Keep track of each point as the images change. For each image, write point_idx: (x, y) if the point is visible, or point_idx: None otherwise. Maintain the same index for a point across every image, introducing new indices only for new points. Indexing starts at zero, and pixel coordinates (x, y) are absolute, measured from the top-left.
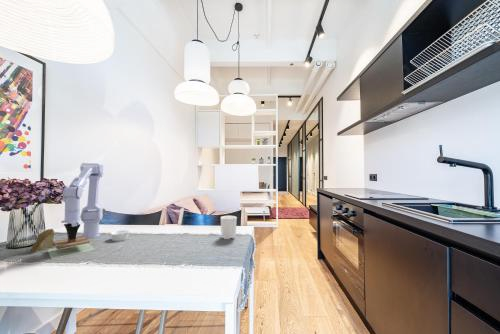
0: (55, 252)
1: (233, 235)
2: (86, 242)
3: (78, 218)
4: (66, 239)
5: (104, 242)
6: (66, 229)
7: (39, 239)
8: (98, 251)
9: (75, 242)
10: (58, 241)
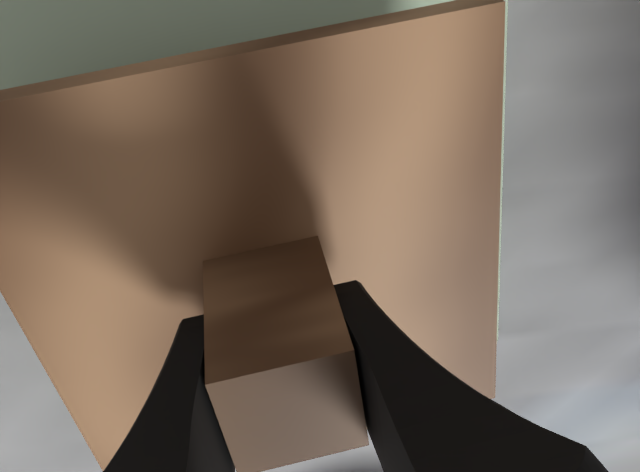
0: (237, 15)
1: None
2: (100, 458)
3: None
4: (487, 202)
5: (370, 466)
6: (389, 412)
7: None
8: (19, 461)
9: (152, 351)
10: (438, 88)
